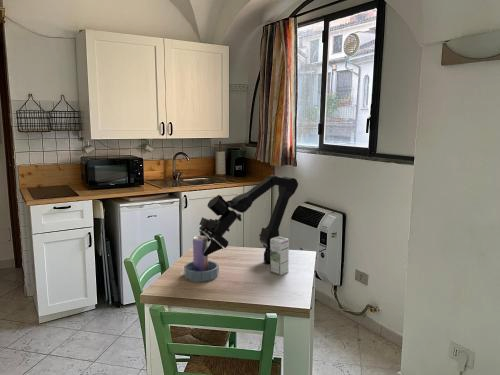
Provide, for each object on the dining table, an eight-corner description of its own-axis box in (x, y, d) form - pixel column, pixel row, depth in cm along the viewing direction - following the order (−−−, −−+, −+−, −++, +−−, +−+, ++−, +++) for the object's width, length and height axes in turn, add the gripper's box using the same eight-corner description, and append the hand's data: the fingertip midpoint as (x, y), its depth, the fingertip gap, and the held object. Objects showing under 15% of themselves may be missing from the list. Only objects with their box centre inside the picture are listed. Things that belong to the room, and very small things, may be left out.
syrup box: (289, 271, 170) (289, 238, 168) (280, 275, 166) (280, 241, 163) (278, 268, 174) (278, 235, 172) (269, 272, 170) (269, 238, 167)
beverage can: (197, 276, 162) (196, 240, 159) (191, 272, 167) (190, 236, 164) (210, 273, 165) (210, 238, 162) (204, 269, 170) (203, 234, 167)
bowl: (221, 270, 172) (221, 261, 171) (213, 282, 158) (213, 273, 158) (190, 268, 174) (190, 259, 173) (180, 280, 160) (180, 271, 160)
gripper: (203, 206, 172) (178, 234, 169) (220, 215, 156) (194, 247, 152) (220, 222, 177) (197, 250, 174) (239, 232, 160) (213, 263, 157)
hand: (199, 252), depth 164 cm, fingers open, 9 cm apart
